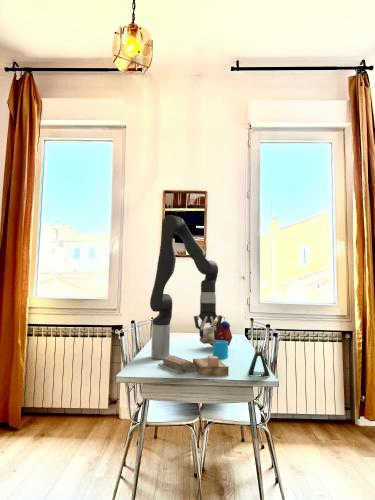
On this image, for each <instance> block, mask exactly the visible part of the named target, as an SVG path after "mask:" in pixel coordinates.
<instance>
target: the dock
mask: <svg viewBox="0 0 375 500" xmlns="http://www.w3.org/2000/svg"><path fill="white" fill-rule="evenodd" d="M192 362H193V366H194V368H196V369H197V371H196V372H197V373H198V374H199V375H200V377H213V376H215V377H216V376H217V377H219V376H229V366H227V365H226V364H224V363H223V362H222V361H221V359H219V367H209V366H208V357H207V358H206V357H205V358H192Z"/></svg>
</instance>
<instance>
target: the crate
mask: <svg viewBox="0 0 375 500" xmlns="http://www.w3.org/2000/svg"><path fill="white" fill-rule="evenodd" d="M207 358H208V366H209V367H219V360H220V359H219V358H218V357H217V356H213V355H210V356H207Z"/></svg>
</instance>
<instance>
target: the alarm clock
mask: <svg viewBox="0 0 375 500" xmlns="http://www.w3.org/2000/svg"><path fill="white" fill-rule="evenodd" d="M218 316H222V319H223V321H221V325H220V328H219V329H216V337H215V338H214V339H215V340H222V341H228V347H229V346H230V345H231V341H232V340H233V335H232V332H231V324H230V323H229V322H228V321H227V320H225V319H226V317H225V316H223V315H220V314H219V315H218ZM217 321H218V320H217V319H215V320H214V323H215V326H216V325H217ZM209 327H212V325H211V323H209ZM209 345H210V346H211V347H213V344H209Z"/></svg>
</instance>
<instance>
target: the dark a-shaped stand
mask: <svg viewBox="0 0 375 500" xmlns="http://www.w3.org/2000/svg"><path fill="white" fill-rule="evenodd" d="M254 349H255V351H254V355H253V356H252V357H253V358H252V361H251V363H250V367H249V369H248V376H249V375H261V376H260V377H264V376H269V377H270V376H271V375H270V371H269V368H268V367H267V363H266V361H265V358H264V355H263V351H264V350H263V347H262V346H261V345H259V346H258V345H256V346H255V348H254ZM258 349H260V351H258ZM258 357H260V360H261V365H262V367H263V371H255V368H256V364H257V361H258ZM269 377H268V378H269Z"/></svg>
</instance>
